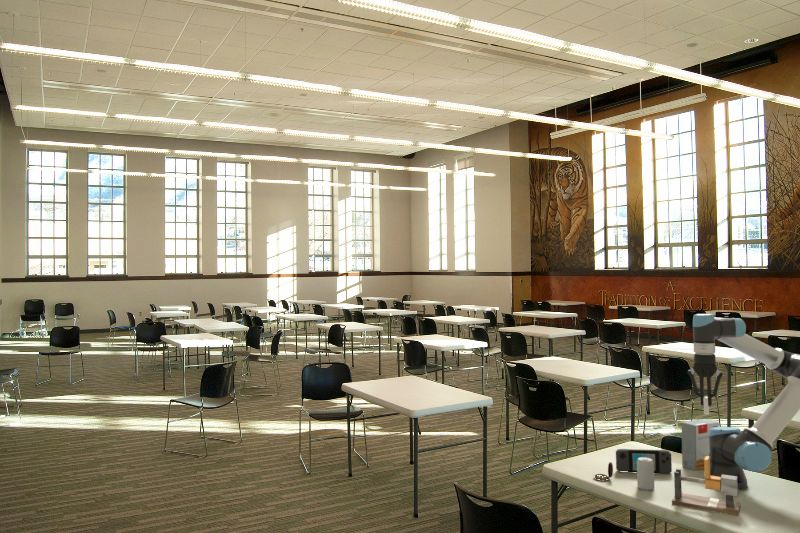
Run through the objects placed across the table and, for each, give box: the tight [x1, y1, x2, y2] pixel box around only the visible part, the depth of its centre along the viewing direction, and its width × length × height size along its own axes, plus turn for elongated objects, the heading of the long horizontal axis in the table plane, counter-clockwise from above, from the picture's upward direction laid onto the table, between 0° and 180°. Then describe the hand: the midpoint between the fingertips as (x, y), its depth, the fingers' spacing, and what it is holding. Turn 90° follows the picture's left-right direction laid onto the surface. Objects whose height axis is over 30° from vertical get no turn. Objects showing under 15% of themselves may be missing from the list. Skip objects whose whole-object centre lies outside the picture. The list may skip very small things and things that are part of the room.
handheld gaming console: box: [615, 448, 673, 475], centre depth 265 cm, size 23×3×10 cm, turn 80°
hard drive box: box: [681, 418, 720, 471], centre depth 272 cm, size 16×8×20 cm, turn 114°
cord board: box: [671, 468, 741, 517], centre depth 226 cm, size 10×22×12 cm, turn 56°
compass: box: [594, 461, 614, 482], centre depth 257 cm, size 8×8×7 cm
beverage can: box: [636, 457, 655, 492], centre depth 246 cm, size 6×6×12 cm
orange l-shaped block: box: [703, 456, 721, 492], centre depth 225 cm, size 5×5×11 cm
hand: (706, 413), depth 235 cm, fingers closed
